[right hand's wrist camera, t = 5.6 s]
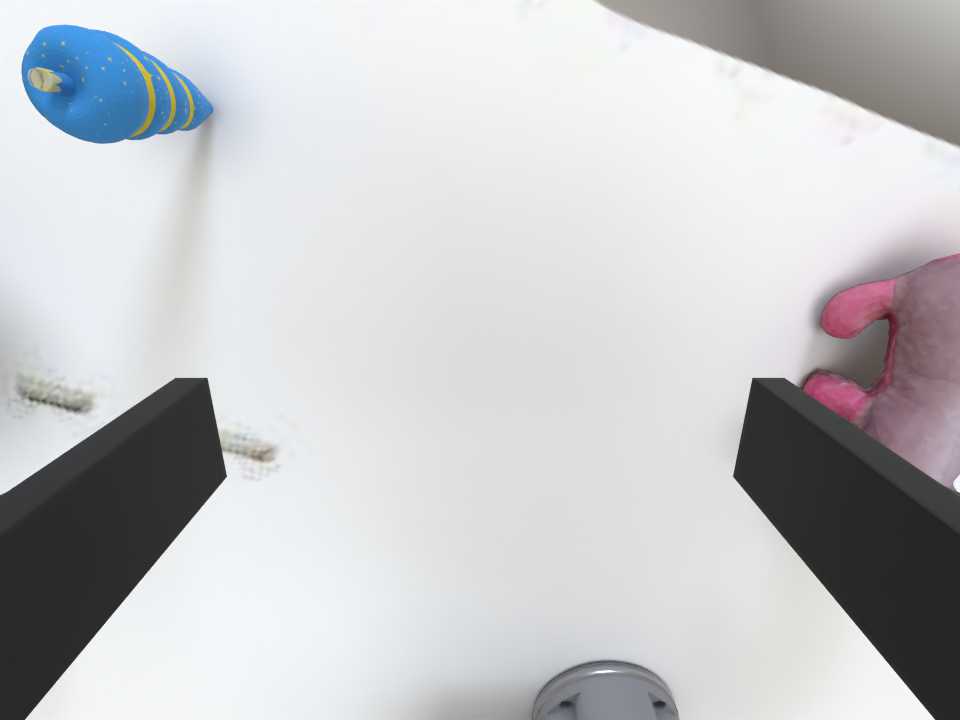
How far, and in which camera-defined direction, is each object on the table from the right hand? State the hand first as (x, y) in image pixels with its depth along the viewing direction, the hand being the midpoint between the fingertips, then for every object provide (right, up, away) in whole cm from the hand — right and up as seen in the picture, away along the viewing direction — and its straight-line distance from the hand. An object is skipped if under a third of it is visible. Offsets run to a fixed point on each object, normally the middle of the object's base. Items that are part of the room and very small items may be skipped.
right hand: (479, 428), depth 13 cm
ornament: (-19, +19, +23) cm, 35 cm away
